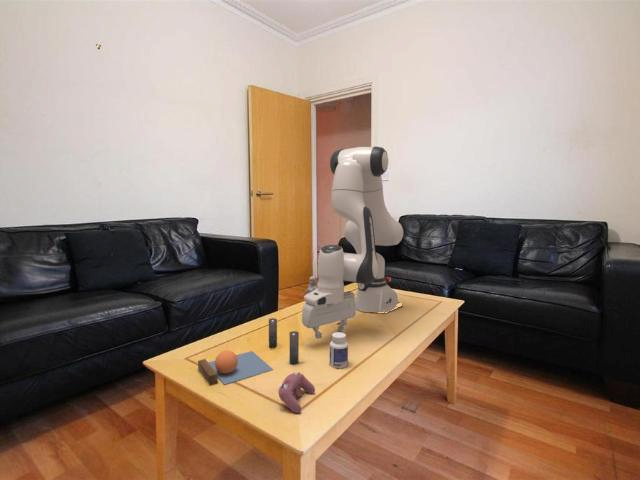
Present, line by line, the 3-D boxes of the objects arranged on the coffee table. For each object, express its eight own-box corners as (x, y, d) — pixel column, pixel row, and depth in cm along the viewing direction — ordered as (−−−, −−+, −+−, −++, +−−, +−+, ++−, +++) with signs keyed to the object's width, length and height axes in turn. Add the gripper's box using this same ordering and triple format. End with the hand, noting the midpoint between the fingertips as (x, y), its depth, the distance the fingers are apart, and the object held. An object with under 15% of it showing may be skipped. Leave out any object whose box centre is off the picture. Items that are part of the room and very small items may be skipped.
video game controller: (302, 395, 86) (290, 369, 87) (317, 390, 85) (305, 364, 85) (284, 418, 77) (271, 389, 78) (301, 413, 76) (288, 384, 76)
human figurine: (297, 319, 136) (297, 274, 134) (304, 317, 138) (304, 273, 136) (320, 327, 128) (320, 279, 126) (326, 324, 130) (327, 278, 128)
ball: (217, 372, 96) (236, 359, 98) (224, 382, 91) (244, 368, 94) (208, 355, 94) (227, 343, 97) (215, 364, 89) (236, 350, 92)
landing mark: (252, 351, 107) (252, 350, 107) (273, 370, 96) (273, 369, 96) (206, 363, 99) (206, 362, 99) (224, 385, 87) (224, 384, 87)
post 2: (295, 359, 102) (295, 330, 101) (300, 363, 100) (300, 333, 99) (287, 362, 100) (287, 332, 99) (292, 365, 98) (292, 335, 97)
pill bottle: (351, 364, 99) (352, 335, 98) (339, 370, 96) (339, 340, 95) (337, 358, 103) (338, 329, 102) (325, 364, 99) (326, 334, 98)
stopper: (205, 367, 97) (205, 358, 96) (217, 383, 89) (217, 373, 88) (198, 369, 95) (198, 360, 95) (209, 385, 87) (209, 376, 87)
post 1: (274, 344, 112) (274, 317, 111) (278, 347, 110) (278, 320, 109) (267, 346, 111) (267, 319, 110) (271, 349, 109) (271, 321, 108)
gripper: (348, 288, 122) (347, 325, 124) (299, 297, 111) (299, 338, 112) (360, 292, 117) (359, 331, 119) (310, 301, 105) (310, 345, 107)
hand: (329, 334), depth 115 cm, fingers open, 8 cm apart
